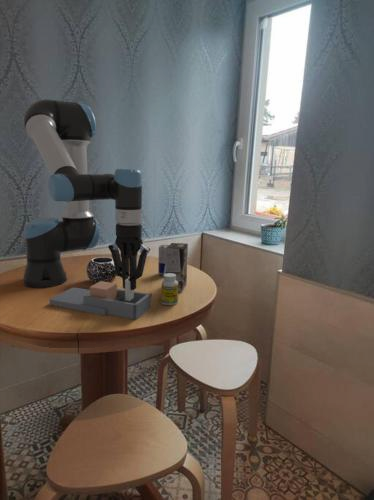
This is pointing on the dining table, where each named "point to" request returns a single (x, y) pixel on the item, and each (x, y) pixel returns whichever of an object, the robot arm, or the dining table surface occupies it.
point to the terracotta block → (104, 290)
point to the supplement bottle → (169, 289)
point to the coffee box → (177, 263)
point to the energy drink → (162, 260)
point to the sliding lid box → (103, 303)
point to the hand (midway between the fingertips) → (129, 298)
